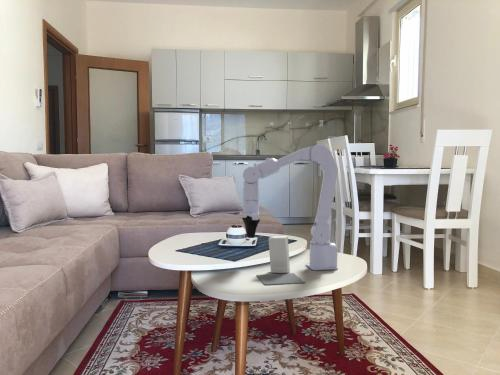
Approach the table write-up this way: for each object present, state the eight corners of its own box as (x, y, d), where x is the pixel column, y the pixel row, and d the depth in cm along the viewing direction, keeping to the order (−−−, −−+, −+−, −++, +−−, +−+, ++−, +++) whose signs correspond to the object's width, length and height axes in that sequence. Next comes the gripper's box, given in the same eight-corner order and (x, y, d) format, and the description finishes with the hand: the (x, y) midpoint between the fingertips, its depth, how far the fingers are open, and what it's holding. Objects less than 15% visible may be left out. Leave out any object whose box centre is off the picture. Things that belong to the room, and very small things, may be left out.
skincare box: (290, 270, 144) (288, 235, 144) (287, 273, 140) (286, 237, 140) (273, 270, 146) (271, 235, 146) (269, 273, 142) (268, 237, 141)
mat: (293, 274, 141) (293, 273, 141) (304, 283, 130) (304, 282, 130) (256, 275, 138) (256, 274, 138) (264, 285, 128) (264, 284, 128)
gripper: (236, 198, 157) (236, 234, 158) (244, 201, 143) (243, 241, 144) (254, 198, 159) (254, 233, 159) (264, 201, 144) (263, 240, 145)
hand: (250, 237), depth 152 cm, fingers closed
